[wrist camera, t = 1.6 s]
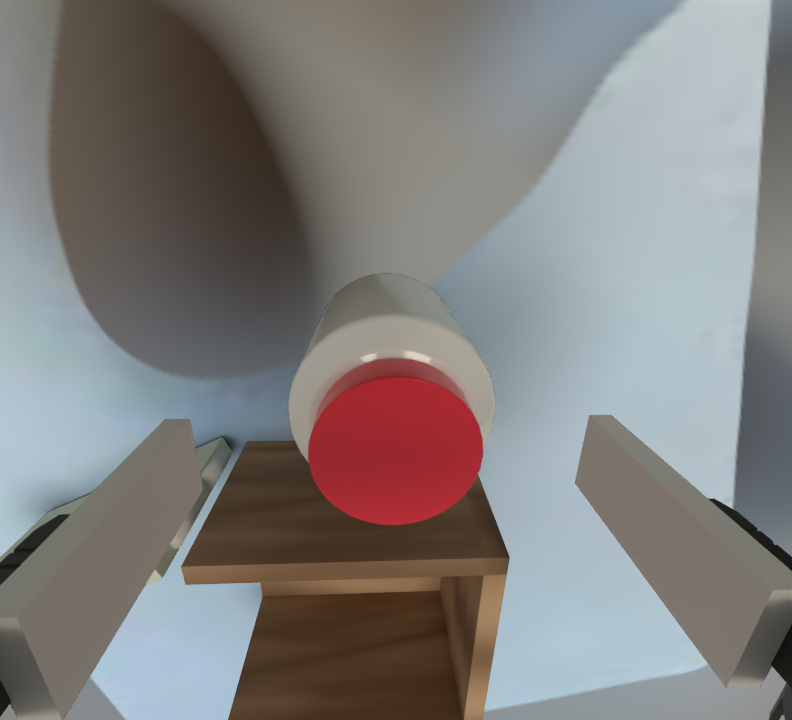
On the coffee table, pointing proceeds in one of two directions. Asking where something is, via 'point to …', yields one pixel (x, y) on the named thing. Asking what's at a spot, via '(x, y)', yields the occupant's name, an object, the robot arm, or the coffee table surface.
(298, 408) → the pill bottle
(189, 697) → the coffee table surface
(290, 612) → the box
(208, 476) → the door
